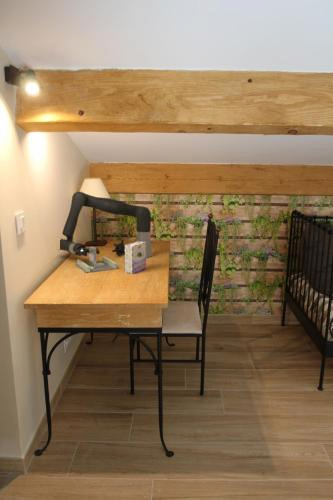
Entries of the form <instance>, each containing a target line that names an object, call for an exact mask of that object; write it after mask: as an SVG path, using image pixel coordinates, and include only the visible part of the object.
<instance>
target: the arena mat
mask: <svg viewBox="0 0 333 500" xmlns="http://www.w3.org/2000/svg"><path fill="white" fill-rule="evenodd" d="M84 263H85V262H84ZM97 263H103V264H105V266H103V267H98V268H92V267H90V272H91V273H98V272H103V271H104V272H105V271H114V270H115V269H114V268H113V267H111V266H109V265H108V264H106V263H105V262H103V260H102V261H101V260H100V261H97ZM85 264H87V265H88V266H90V262H87V263H85ZM75 266H76V267H77V268H79V270H81V271H83V272H84V273H85V274H89V273H90V272H87V271H85V270H84V269H83V268H81V267H80V266H79V265H77V263H76V264H75ZM116 270H119V267H117V269H116ZM91 273H90V274H91Z"/></svg>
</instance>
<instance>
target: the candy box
mask: <svg viewBox="0 0 333 500" xmlns="http://www.w3.org/2000/svg"><path fill="white" fill-rule="evenodd" d="M124 245H125V254H124V273H125V274H130V275H134V274H137V273H139V272H142V271H143V270H146V269H147V260H146V259H147V258H146V242H140V241H137V240H136V241H134V242H132V243H131V242H130V243H128V244H127V243H126V244H124Z"/></svg>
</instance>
